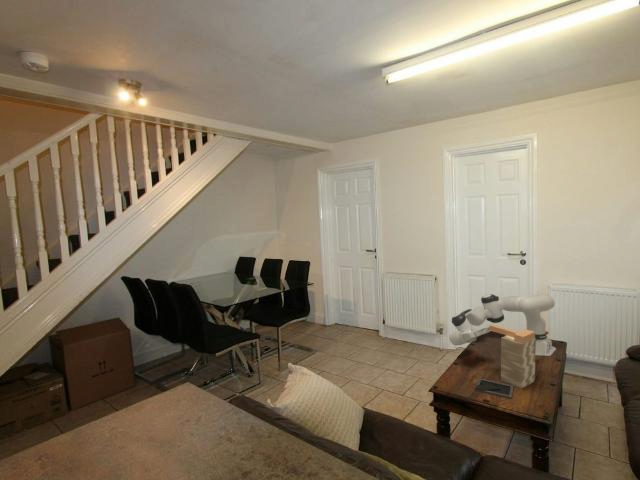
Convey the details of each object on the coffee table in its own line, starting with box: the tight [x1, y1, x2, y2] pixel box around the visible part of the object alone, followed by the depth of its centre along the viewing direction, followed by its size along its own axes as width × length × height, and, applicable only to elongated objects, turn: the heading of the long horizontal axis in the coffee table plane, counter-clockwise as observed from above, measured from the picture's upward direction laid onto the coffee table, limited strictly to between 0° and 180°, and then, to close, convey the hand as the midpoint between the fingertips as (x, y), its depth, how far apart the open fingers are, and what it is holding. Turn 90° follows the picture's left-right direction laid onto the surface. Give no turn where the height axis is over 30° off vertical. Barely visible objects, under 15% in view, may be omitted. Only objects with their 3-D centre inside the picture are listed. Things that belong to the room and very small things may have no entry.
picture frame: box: [475, 377, 515, 400], centre depth 195 cm, size 13×2×18 cm
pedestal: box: [500, 335, 536, 390], centre depth 201 cm, size 14×12×26 cm
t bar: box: [488, 323, 535, 344], centre depth 204 cm, size 12×23×4 cm, turn 31°
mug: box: [535, 357, 540, 379], centre depth 209 cm, size 12×8×9 cm, turn 117°
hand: (486, 330), depth 216 cm, fingers open, 8 cm apart
